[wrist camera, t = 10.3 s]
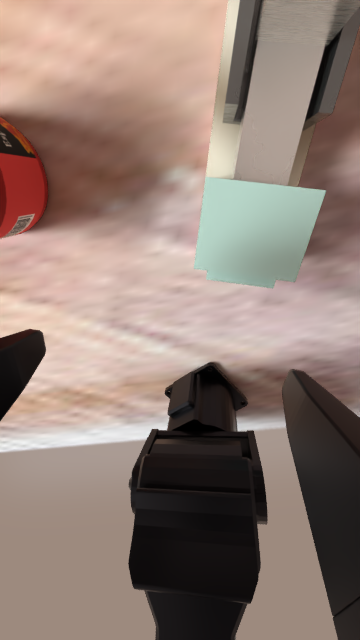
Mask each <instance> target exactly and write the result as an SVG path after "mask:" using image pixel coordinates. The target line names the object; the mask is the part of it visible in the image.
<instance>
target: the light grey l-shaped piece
mask: <svg viewBox="0 0 360 640" xmlns="http://www.w3.org/2000/svg"><path fill="white" fill-rule="evenodd" d="M359 7H360V0H262V1H261V6H260V12H259V18H258V24H257V30H256V35H255V41H254V47H253V53H252V59H251V64H250V70H249V76H248V82H247V88H246V93H245V99H244V105H243V111H242V117H241V122H240V128H239V134H238V140H237V146H236V151H235V157H234V163H233V169H232V175H231V180H238V181H247V182H256V183H265V184H274V185H283V186H287V184H288V181H289V177H290V173H291V170H292V166H293V162H294V158H295V155H296V151H297V147H298V144H299V140H300V136H301V133H302V129H303V125H304V122H305V118H306V114H307V110H308V107H309V103H310V99H311V96H312V92H313V88H314V85H315V81H316V77H317V74H318V70H319V66H320V62H321V59H322V55H323V51H324V48H325V46H328V45H329V44H330V42H331V41H332V40H333V39H334V37H335V36H336V35H337V34H338V32H339V31H340V30H341V29H342V28H343V26H344V25H345V24H346V23H347V21H348V20H349V19H350V18H351V17H352V15H353V14H354V13H355V12H356V10H357V9H358V8H359Z"/></svg>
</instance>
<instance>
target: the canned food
mask: <svg viewBox="0 0 360 640" xmlns="http://www.w3.org/2000/svg"><path fill="white" fill-rule="evenodd" d="M47 199H48V184H47V178H46V174H45V171H44V168H43V165H42V162H41V160H40V158H39V156H38V154H37V152H36V151H35V149H34V148H33V146H32V145H31V143H30V142H29V141H28V140H27V139H26V138H25V137H24V136H23V135H22V133H20V132H19V131H18V130H17V129H16V128H14V127H13V126H12V125H10V124H9V123H8V122H7V121H5V120H4V119H2V118H0V239H2V238H5V237H9V236H13V235H17V234H21V233H23V232H25V231H27V230H29V229H30V228H31V227H32V226H33V225H35V224H36V223H37V222H38V221H39V219H40V218H41V216H42V215H43V213H44V211H45V208H46V205H47Z"/></svg>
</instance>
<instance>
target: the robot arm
mask: <svg viewBox="0 0 360 640" xmlns="http://www.w3.org/2000/svg"><path fill="white" fill-rule="evenodd" d="M45 352H46V347H45V342H44V337H43V333H42V332H41V331H40V330H33V329H28V330H25V331H21V332H18V333H15V334H12V335H9V336H6V337H2V338H0V421H1V420H2V418H3V417H4V416H5V414H6V413H7V412H8V410H9V409H10V408H11V406H12V405H13V404H14V402H15V401H16V400H17V398H18V397H19V396H20V394H21V393H22V391H23V390H24V388H25V387H26V385H27V384H28V382H29V380H30V379H31V377H32V375H33V374H34V372H35V370H36V369H37V367H38V365H39V364H40V362H41V360H42V359H43V357H44V355H45ZM209 368H212V369H209ZM168 391H170V392H168ZM165 395H166V396H167V397H169V398H170V403H169V408H168V415H169V416H170V418H169V423H168V428H167V430H158V429H152V430H151V433H150V435H149V437H148V438H147V440H146V442H145V444H144V446H143V449H142V451H141V453H140V455H139V457H138V459H137V462H136V463H135V466H134V468H133V471H132V477H131V478H130V480H129V488H130V490H131V507H132V511H133V513H134V514H135V520H134V529H133V536H132V543H131V550H130V556H129V563H128V564H129V570H130V575H131V580H132V584H133V587H134V589H138V590H144V591H145V594H146V597H147V600H148V603H149V606H150V609H151V611H152V615H153V618H154V621H155V624H156V640H236V632H237V630H238V627H239V624H240V622H241V619H242V616H243V614H244V611H245V608H246V606H247V603H248V604H250V603H251V601H252V599H253V595H254V592H255V588H256V585H257V582H258V574H259V571H260V563H261V562H260V551H259V539H258V529H257V524H267V502H266V492H265V484H264V477H263V471H262V466H261V461H260V457H259V452H258V448H257V444H256V439H255V435H254V431H248V430H247V432H238V431H237V420H236V411H237V410H239V409H241V408H243V407H245V406H247V404H248V401H247V398H246V397H245V396H244V395H243V394H242V393H241V392H240V391H239V390H238V389H237V388H236V387H235V386H234V385H233V384H232V383H231V382H230V381H229V380H228V378H227V377H226V376H225V375H224V374H223V373H222V372H221V371H220V370H219V369H218V368H217V367H216V366H215V365H214V364H213V363H208V364H206V365H204V366H202V367H201V368H199V369H197V370H196V371H194V372H190V373H189V374H187V375H185V376H184V377H182V378H180V379H179V380H177V381H175V382H174V384H172V385H170V386H169V387H167V388H166V389H165ZM282 397H283V404H284V412H285V420H286V428H287V434H288V438H289V443H290V447H291V451H292V454H293V459H294V463H295V466H296V471H297V475H298V479H299V483H300V487H301V491H302V495H303V499H304V503H305V507H306V511H307V515H308V519H309V523H310V527H311V531H312V535H313V539H314V543H315V548H316V551H317V556H318V560H319V564H320V567H321V571H322V576H323V580H324V584H325V588H326V592H327V596H328V600H329V604H330V608H331V612H332V615H333V616H334V617H333V621H334V625H335V629H336V633H337V637H338V640H360V417H358V416H357V415H356V414H355V413H353V412H352V411H351V410H350V409H349V408H347V407H346V406H345V405H344V404H343V403H341V402H340V401H339V400H338V399H336V398H335V397H334V396H333V395H332V394H330V393H329V392H328V391H327V390H326V389H324V388H323V387H322V386H321V385H320V384H318V383H317V382H316V381H315V380H313V379H312V378H311V377H310V376H309V375H307V374H306V373H305V372H304V371H300V370H294V369H292V370H290V371H289V372H288V375H287V377H286V380H285V382H284V385H283V388H282Z"/></svg>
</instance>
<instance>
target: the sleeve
mask: <svg viewBox="0 0 360 640" xmlns="http://www.w3.org/2000/svg"><path fill="white" fill-rule="evenodd" d="M261 1H262V0H240V3H239V10H238V17H237V24H236V30H235V37H234V44H233V51H232V58H231V65H230V72H229V79H228V86H227V93H226V100H225V107H224V115H223V123H228V124H238V125H240V122H241V117H242V111H243V105H244V99H245V93H246V88H247V82H248V76H249V70H250V64H251V59H252V53H253V47H254V41H255V35H256V30H257V24H258V18H259V12H260V6H261ZM359 26H360V7H359V8H358V9H357V10H356V12H355V13H354V14H353V15H352V17H351V18H350V19H349V20H348V21H347V23H346V24H345V25H344V26H343V28H342V29H341V30H340V31H339V32H338V34H337V35H336V36H335V37H334V39H333V40H332V41H331V42H330V44H329V45H328V46H325V48H324V51H323V55H322V59H321V62H320V66H319V70H318V74H317V77H316V81H315V85H314V88H313V92H312V96H311V99H310V103H309V107H308V110H307V114H306V118H305V122H304V125H303V129H302V131H304V130H306V129H307V128H309V127H311V126H312V125H314V124H316V123H317V122H319V121H321V120H322V119H324V118H326V117H327V116H329V115H331V114H332V113H333V110H334V106H335V103H336V100H337V97H338V94H339V90H340V87H341V84H342V81H343V77H344V74H345V71H346V68H347V65H348V61H349V58H350V55H351V52H352V48H353V45H354V42H355V39H356V35H357V32H358V29H359Z"/></svg>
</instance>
